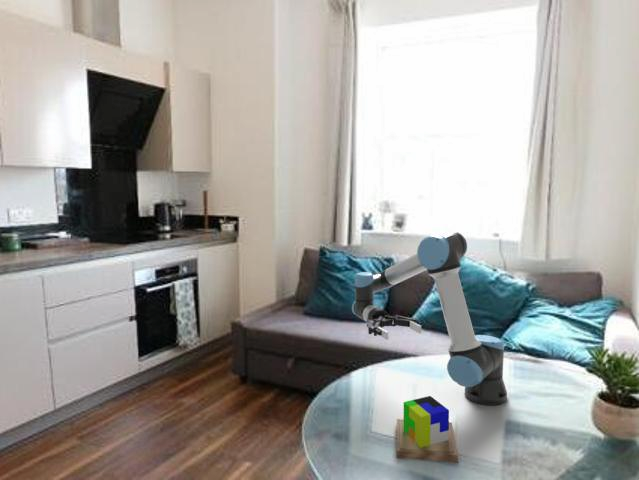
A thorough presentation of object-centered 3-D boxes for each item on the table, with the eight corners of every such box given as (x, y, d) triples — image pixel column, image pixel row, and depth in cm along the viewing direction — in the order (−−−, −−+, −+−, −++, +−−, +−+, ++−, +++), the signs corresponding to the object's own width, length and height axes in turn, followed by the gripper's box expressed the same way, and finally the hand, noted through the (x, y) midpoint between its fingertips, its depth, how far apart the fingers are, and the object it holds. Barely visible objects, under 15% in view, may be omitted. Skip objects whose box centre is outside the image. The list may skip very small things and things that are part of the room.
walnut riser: (451, 429, 159) (451, 421, 158) (458, 462, 141) (458, 454, 141) (396, 426, 162) (396, 418, 161) (396, 458, 144) (396, 449, 144)
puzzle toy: (448, 440, 148) (449, 410, 147) (420, 447, 145) (421, 417, 143) (429, 424, 157) (430, 395, 156) (403, 431, 154) (403, 402, 152)
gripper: (403, 321, 194) (433, 337, 175) (347, 330, 185) (373, 348, 166) (403, 303, 193) (433, 317, 174) (346, 312, 184) (372, 328, 165)
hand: (404, 332), depth 170 cm, fingers open, 13 cm apart
